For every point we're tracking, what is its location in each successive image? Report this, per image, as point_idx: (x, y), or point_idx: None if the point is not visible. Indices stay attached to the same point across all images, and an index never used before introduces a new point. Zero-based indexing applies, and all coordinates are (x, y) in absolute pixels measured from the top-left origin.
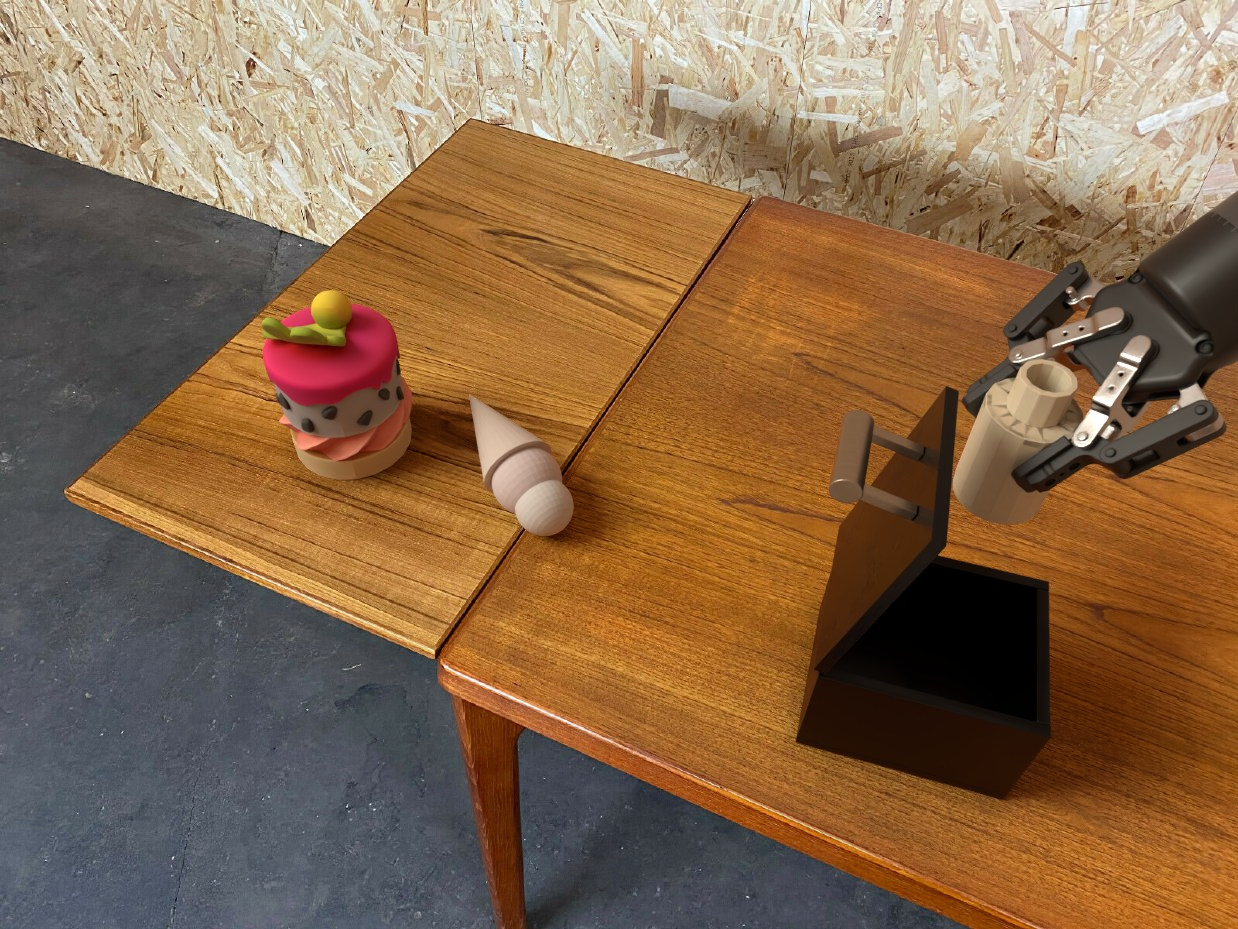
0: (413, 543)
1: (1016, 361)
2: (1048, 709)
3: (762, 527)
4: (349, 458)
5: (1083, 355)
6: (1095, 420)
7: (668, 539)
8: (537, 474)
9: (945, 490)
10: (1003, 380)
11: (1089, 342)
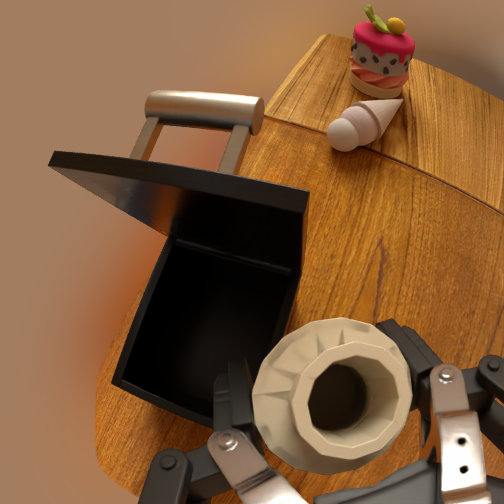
0: (318, 101)
1: (432, 374)
2: (130, 391)
3: (361, 265)
4: (354, 73)
5: (407, 477)
6: (243, 468)
7: (343, 206)
8: (353, 118)
9: (100, 165)
10: (403, 359)
11: (433, 487)
